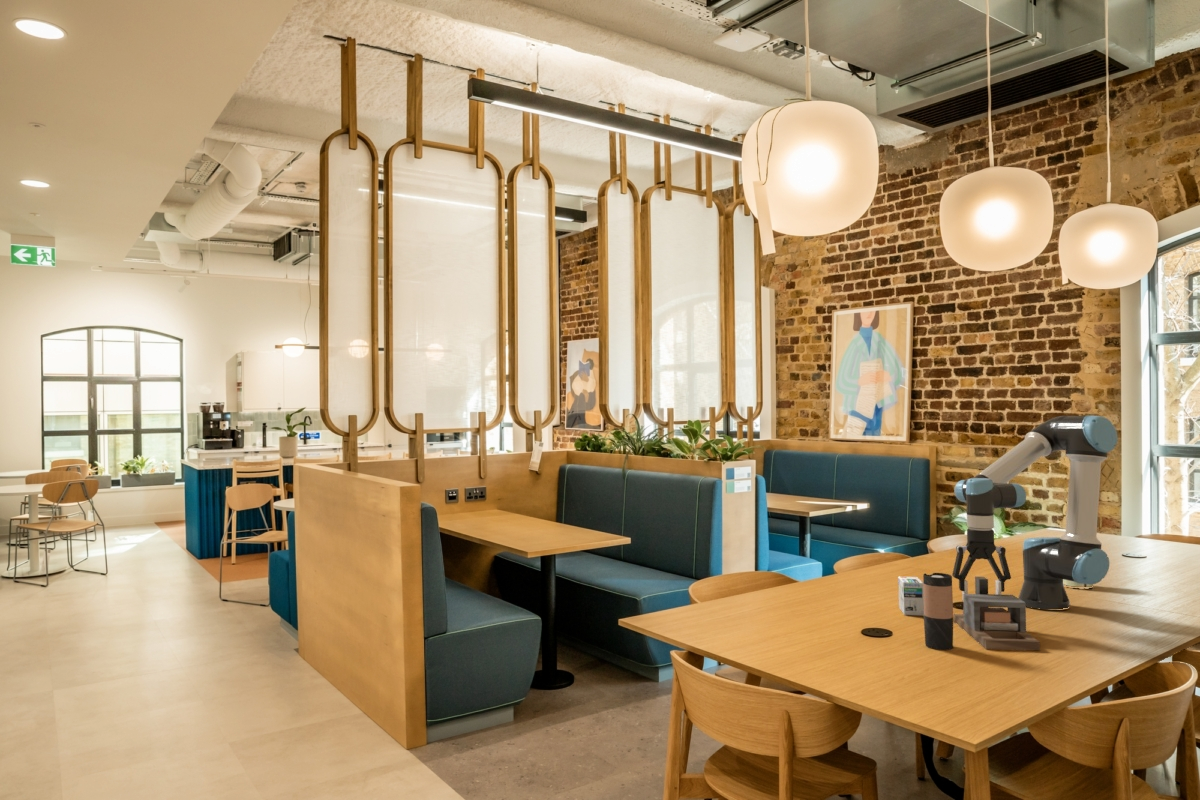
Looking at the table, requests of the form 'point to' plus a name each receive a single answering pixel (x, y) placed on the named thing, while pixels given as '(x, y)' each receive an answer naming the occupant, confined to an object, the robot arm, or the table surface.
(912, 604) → the light bulb box
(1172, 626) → the table surface
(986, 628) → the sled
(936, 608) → the travel mug
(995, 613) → the block
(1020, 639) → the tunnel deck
